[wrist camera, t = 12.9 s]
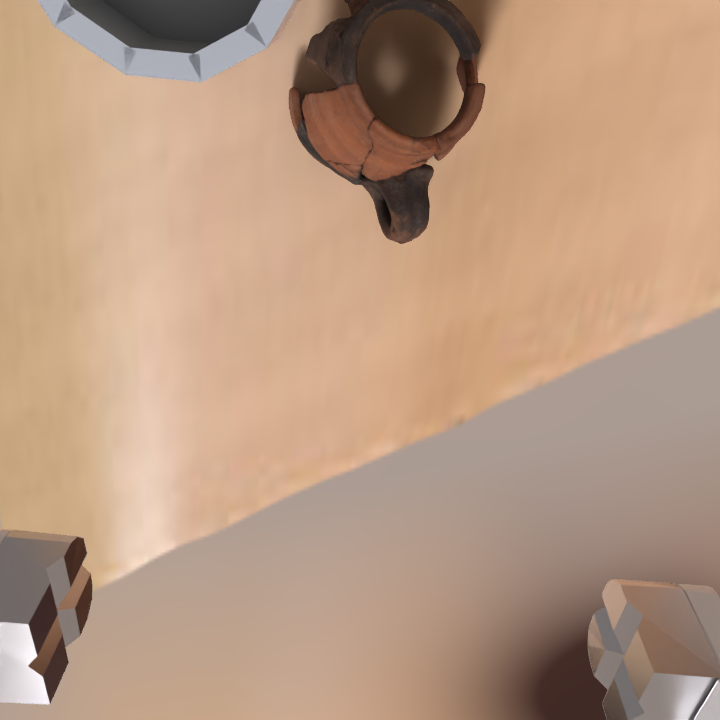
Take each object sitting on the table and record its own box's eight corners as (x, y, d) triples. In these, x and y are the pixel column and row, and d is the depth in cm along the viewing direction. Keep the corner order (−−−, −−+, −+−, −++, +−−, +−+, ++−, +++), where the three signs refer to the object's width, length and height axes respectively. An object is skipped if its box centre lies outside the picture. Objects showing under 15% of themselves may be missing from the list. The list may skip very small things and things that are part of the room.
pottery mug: (252, 45, 36) (290, -11, 28) (408, 6, 38) (482, -55, 30) (322, 263, 39) (374, 266, 31) (463, 213, 41) (542, 205, 34)
